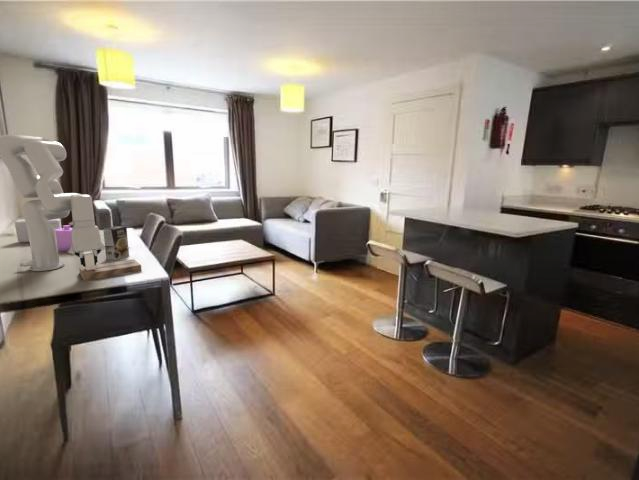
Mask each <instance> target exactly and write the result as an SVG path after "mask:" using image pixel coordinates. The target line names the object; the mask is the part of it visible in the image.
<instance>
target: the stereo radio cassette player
mask: <svg viewBox="0 0 639 480" xmlns="http://www.w3.org/2000/svg"><path fill="white" fill-rule="evenodd" d="M47 221H48V222H49V223H50V224H51V225H52V226H53V227H54V229H61V228H63V226H62V222H61V221H62V218H60V219H52V220H47ZM14 227H15V233H16V237H17V241H18V242H19V243H21V242H23V243H30V241H29V235H28V230H27V225H26V222H25V219H19V220H17V221H15V222H14Z"/></svg>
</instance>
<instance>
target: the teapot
mask: <svg viewBox="0 0 639 480" xmlns="http://www.w3.org/2000/svg"><path fill="white" fill-rule="evenodd" d="M72 228H73V227H71V225H70V226H69V224H67V225H66V224H65V225H62V228H61V229H55V234H56V240H57V247H58V253H60V252H63V253H65V252H67V253H69V252H68V251H69V249H70V247H71V245H72V237H71V235H72ZM73 251H74V250H73Z"/></svg>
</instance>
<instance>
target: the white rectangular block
mask: <svg viewBox="0 0 639 480" xmlns="http://www.w3.org/2000/svg"><path fill="white" fill-rule="evenodd" d="M83 256H84V258H85V265H86V266H85V269H86V271H87V270H93V269H95V263H94V255H93V251H83Z"/></svg>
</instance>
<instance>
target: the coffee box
mask: <svg viewBox="0 0 639 480" xmlns="http://www.w3.org/2000/svg"><path fill="white" fill-rule="evenodd" d="M102 230H103V231H102V232H103V241H104V246H105V247H106V248H105V249H104V250H105V259H106V260H111V261H112V260H113V261H118V260H121V259H123V258H127V257H130V250H129V249H130V248H129V249H128V247H129V240H128V227H127V226H121V225H120V226H118V225H117V226H111V227H106V228H103V229H102Z"/></svg>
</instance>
